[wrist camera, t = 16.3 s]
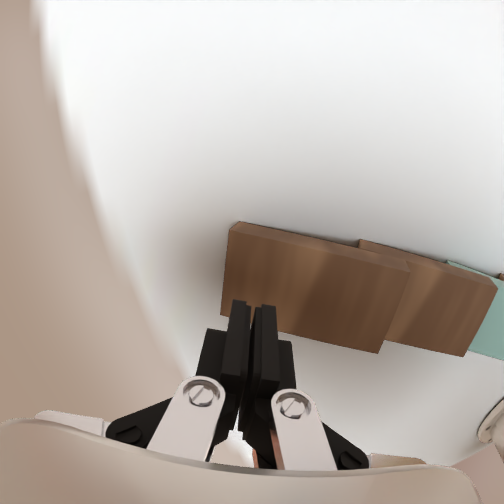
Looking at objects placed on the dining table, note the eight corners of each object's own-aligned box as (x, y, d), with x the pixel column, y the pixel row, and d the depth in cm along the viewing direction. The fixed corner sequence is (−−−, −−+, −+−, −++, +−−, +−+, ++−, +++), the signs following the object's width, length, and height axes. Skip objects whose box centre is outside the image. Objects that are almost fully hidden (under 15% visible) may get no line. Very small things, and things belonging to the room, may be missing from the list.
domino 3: (421, 336, 17) (514, 363, 15) (452, 268, 16) (547, 305, 13) (419, 324, 19) (509, 351, 16) (447, 259, 17) (538, 295, 14)
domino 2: (359, 238, 17) (489, 277, 15) (337, 313, 19) (457, 342, 17) (360, 248, 15) (498, 288, 13) (335, 327, 17) (463, 357, 15)
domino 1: (239, 221, 16) (405, 259, 15) (229, 301, 18) (376, 337, 17) (229, 229, 15) (410, 272, 13) (220, 314, 17) (377, 353, 15)
